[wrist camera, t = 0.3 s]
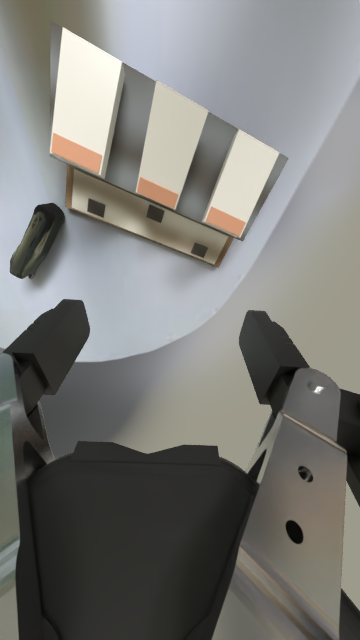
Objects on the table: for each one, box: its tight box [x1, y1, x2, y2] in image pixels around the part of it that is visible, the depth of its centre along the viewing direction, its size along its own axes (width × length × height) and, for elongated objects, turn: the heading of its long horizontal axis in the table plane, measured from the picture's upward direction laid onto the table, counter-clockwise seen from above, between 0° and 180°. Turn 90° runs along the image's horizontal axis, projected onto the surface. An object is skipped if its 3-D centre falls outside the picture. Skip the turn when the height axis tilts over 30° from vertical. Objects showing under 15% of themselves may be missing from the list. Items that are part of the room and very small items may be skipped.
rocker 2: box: [136, 80, 209, 210], centre depth 21 cm, size 9×5×3 cm, turn 158°
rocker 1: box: [50, 28, 125, 179], centre depth 20 cm, size 9×5×3 cm, turn 159°
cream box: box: [201, 129, 280, 238], centre depth 23 cm, size 9×5×2 cm, turn 159°
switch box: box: [50, 21, 288, 267], centre depth 27 cm, size 16×26×6 cm, turn 69°
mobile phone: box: [10, 203, 64, 279], centre depth 32 cm, size 5×3×15 cm
